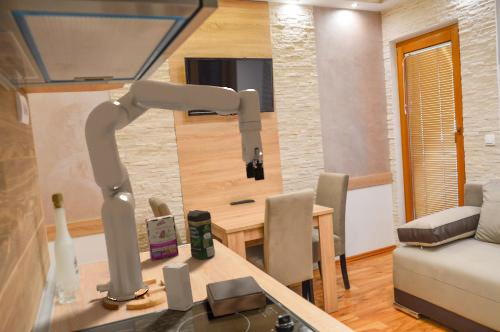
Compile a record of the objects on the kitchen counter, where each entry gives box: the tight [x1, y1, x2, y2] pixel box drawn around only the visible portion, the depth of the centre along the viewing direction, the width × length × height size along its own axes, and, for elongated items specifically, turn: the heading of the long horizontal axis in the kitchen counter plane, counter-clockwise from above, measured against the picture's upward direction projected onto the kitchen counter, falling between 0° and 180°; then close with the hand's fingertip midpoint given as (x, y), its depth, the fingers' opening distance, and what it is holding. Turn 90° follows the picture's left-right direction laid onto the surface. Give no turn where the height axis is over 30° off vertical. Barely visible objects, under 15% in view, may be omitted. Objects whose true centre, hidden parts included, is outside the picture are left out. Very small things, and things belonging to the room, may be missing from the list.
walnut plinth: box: [205, 275, 267, 318], centre depth 110 cm, size 14×14×4 cm
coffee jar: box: [186, 209, 216, 260], centre depth 157 cm, size 10×8×19 cm
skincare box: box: [161, 262, 194, 312], centre depth 110 cm, size 6×4×12 cm
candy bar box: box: [144, 214, 179, 262], centre depth 162 cm, size 11×5×16 cm, turn 114°
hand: (255, 179), depth 133 cm, fingers open, 9 cm apart
